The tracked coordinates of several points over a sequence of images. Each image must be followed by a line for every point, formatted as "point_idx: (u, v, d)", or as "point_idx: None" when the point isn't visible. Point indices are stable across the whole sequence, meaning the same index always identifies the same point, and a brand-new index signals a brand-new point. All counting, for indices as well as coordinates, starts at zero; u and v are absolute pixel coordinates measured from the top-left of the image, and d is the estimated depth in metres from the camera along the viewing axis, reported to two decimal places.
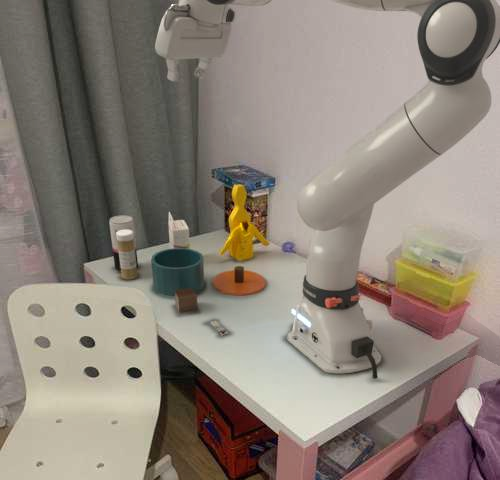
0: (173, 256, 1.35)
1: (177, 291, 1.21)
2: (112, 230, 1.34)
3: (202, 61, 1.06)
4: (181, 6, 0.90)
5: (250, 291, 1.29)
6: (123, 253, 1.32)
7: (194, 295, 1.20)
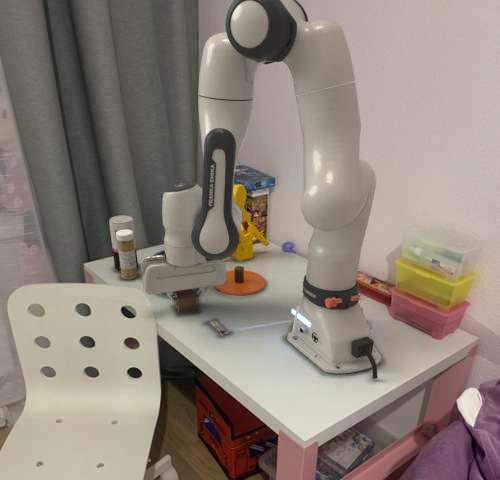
0: None
1: (177, 291, 1.21)
2: (112, 230, 1.34)
3: None
4: (155, 257, 1.13)
5: (250, 291, 1.29)
6: (123, 253, 1.32)
7: (194, 295, 1.20)
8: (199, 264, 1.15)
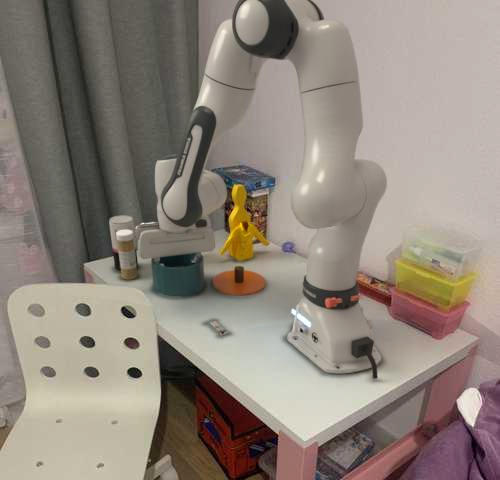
0: (173, 256, 1.35)
1: None
2: (112, 230, 1.34)
3: (196, 255, 1.31)
4: (148, 223, 1.22)
5: (250, 291, 1.29)
6: (123, 253, 1.32)
7: None
8: (189, 231, 1.24)
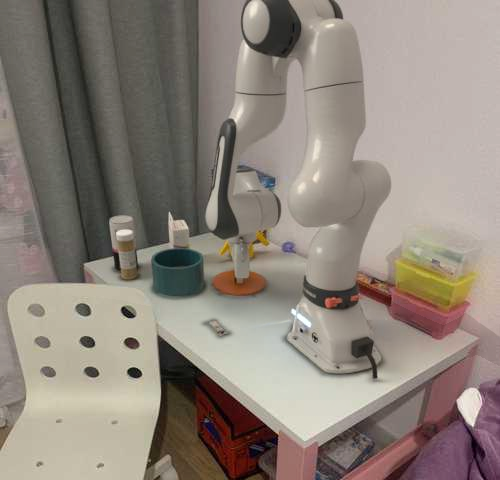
0: (173, 256, 1.35)
1: None
2: (112, 230, 1.34)
3: None
4: (243, 241, 1.22)
5: (250, 291, 1.29)
6: (123, 253, 1.32)
7: None
8: None
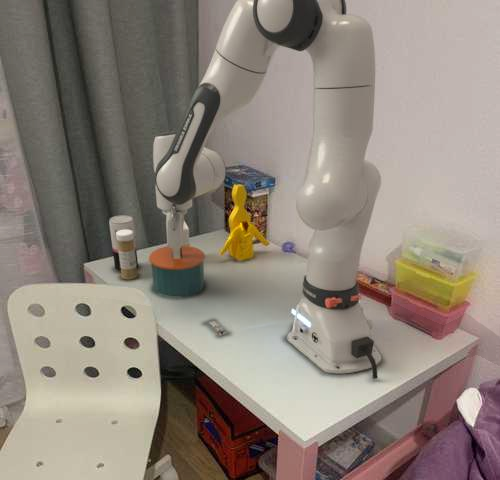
0: None
1: None
2: (112, 230, 1.34)
3: None
4: (174, 208, 1.16)
5: (186, 265, 1.24)
6: (123, 253, 1.32)
7: None
8: None
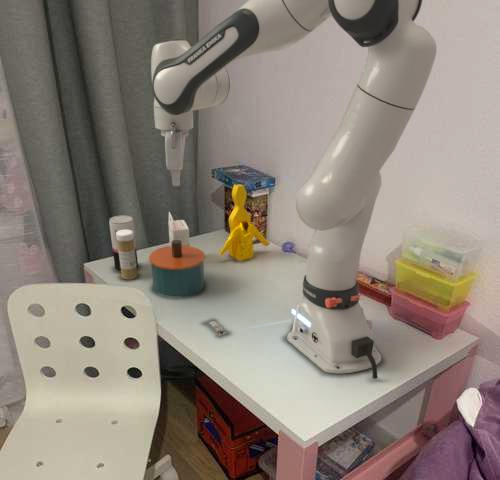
0: None
1: None
2: (112, 230, 1.34)
3: None
4: (174, 125, 1.07)
5: (186, 265, 1.24)
6: (123, 253, 1.32)
7: None
8: None
